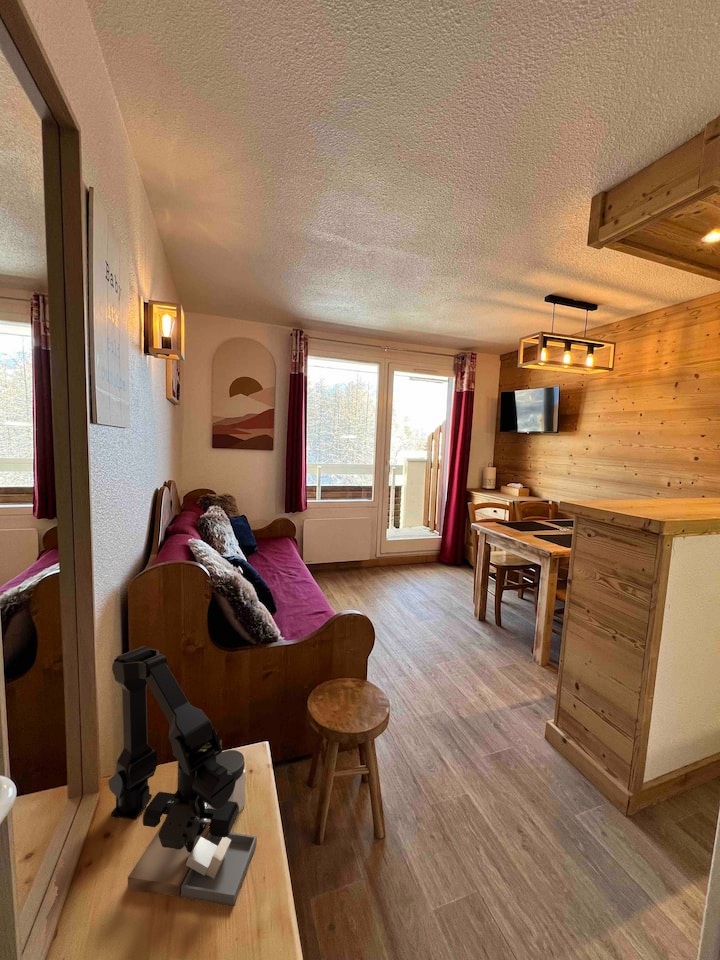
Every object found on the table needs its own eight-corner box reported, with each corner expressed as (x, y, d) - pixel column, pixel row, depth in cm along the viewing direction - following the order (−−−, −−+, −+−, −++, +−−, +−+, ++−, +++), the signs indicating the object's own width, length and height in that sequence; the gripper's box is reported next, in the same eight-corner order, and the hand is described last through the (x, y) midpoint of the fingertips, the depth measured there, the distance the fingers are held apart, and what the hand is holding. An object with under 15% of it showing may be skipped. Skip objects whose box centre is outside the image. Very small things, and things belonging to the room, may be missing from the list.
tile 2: (212, 856, 80) (221, 860, 80) (223, 835, 84) (231, 839, 84) (205, 874, 80) (214, 879, 80) (216, 852, 85) (224, 857, 85)
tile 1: (185, 865, 80) (188, 856, 80) (197, 844, 85) (200, 836, 85) (204, 875, 80) (207, 867, 80) (215, 854, 84) (218, 846, 84)
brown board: (127, 888, 78) (127, 877, 78) (163, 831, 90) (163, 821, 90) (179, 897, 77) (179, 885, 77) (208, 838, 89) (209, 828, 89)
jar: (249, 811, 96) (250, 765, 95) (216, 830, 91) (217, 782, 90) (235, 787, 103) (236, 743, 102) (203, 803, 98) (204, 758, 97)
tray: (180, 897, 77) (181, 886, 77) (210, 838, 89) (210, 829, 89) (234, 905, 76) (234, 895, 76) (256, 845, 88) (256, 836, 88)
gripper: (124, 808, 75) (123, 884, 76) (216, 822, 73) (214, 899, 74) (159, 764, 86) (158, 830, 87) (240, 774, 84) (238, 842, 85)
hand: (190, 850), depth 83 cm, fingers closed
